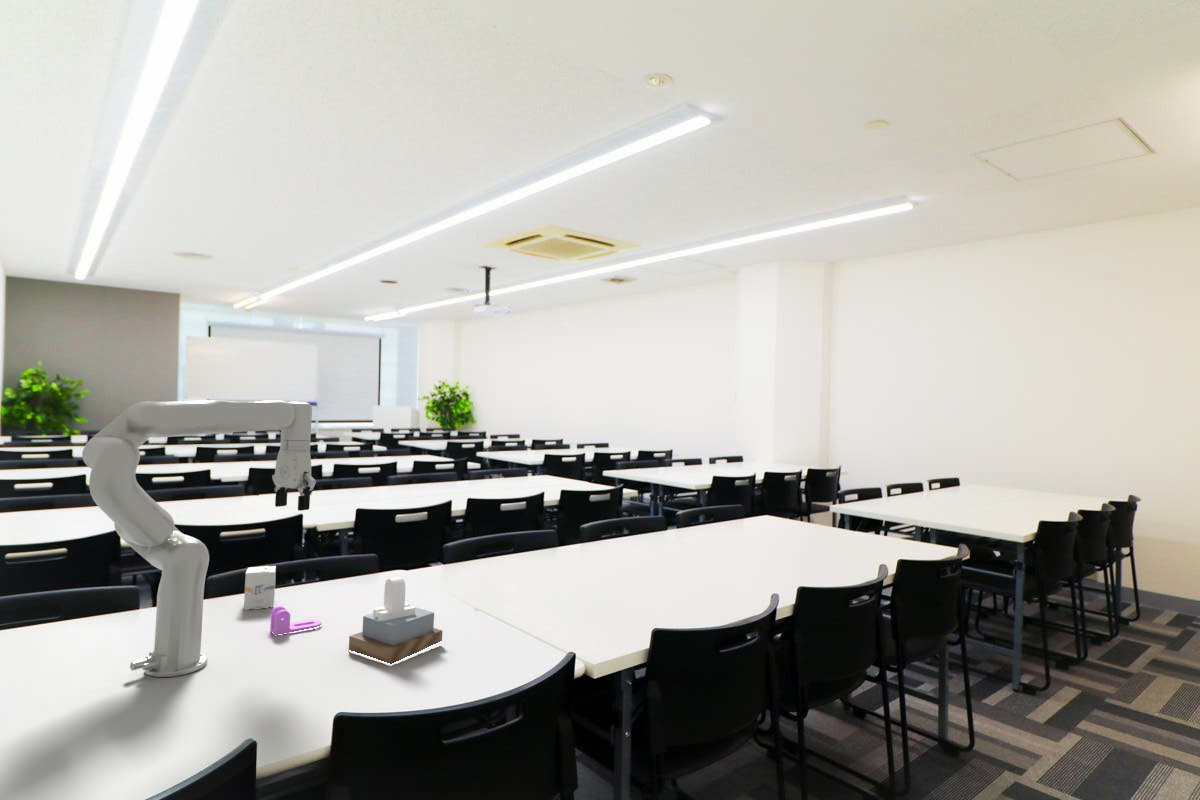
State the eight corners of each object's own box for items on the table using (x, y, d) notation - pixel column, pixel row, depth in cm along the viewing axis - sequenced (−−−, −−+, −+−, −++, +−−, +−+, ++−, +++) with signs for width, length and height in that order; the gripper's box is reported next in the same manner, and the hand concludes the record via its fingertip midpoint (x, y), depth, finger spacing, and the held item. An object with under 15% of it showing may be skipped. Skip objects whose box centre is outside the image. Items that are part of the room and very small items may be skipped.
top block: (393, 645, 164) (394, 625, 164) (362, 634, 170) (363, 616, 170) (433, 630, 176) (434, 612, 176) (403, 621, 182) (404, 604, 182)
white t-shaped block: (372, 616, 171) (374, 578, 171) (406, 609, 178) (408, 573, 178) (381, 621, 167) (383, 583, 167) (415, 614, 174) (417, 577, 174)
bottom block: (390, 669, 161) (391, 649, 161) (348, 655, 169) (349, 636, 169) (441, 648, 176) (442, 630, 176) (400, 636, 184) (401, 618, 185)
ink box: (245, 602, 206) (247, 566, 206) (274, 600, 210) (276, 564, 210) (243, 610, 198) (245, 573, 199) (273, 608, 202) (275, 571, 202)
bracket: (274, 637, 178) (276, 612, 178) (270, 631, 182) (271, 606, 182) (323, 628, 186) (324, 604, 186) (317, 623, 190) (319, 599, 191)
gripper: (263, 444, 178) (259, 506, 177) (303, 448, 169) (300, 513, 169) (287, 444, 184) (284, 503, 184) (327, 448, 176) (324, 510, 176)
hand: (292, 508), depth 177 cm, fingers open, 9 cm apart
